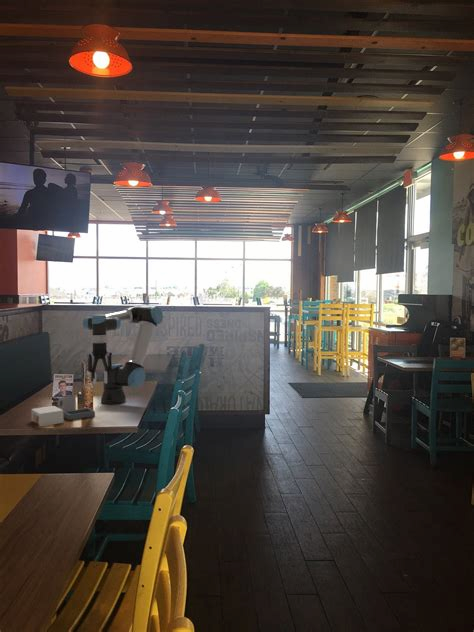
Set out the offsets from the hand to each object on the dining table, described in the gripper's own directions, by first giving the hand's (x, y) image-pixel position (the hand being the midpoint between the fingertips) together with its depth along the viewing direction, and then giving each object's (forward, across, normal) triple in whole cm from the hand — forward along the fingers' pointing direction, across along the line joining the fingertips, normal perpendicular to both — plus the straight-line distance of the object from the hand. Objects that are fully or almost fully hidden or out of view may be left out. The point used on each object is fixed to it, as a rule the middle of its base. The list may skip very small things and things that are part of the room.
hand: (100, 383), depth 291 cm
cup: (+17, -14, +16) cm, 27 cm away
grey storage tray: (+17, -12, 0) cm, 21 cm away
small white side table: (+17, -30, 0) cm, 34 cm away
